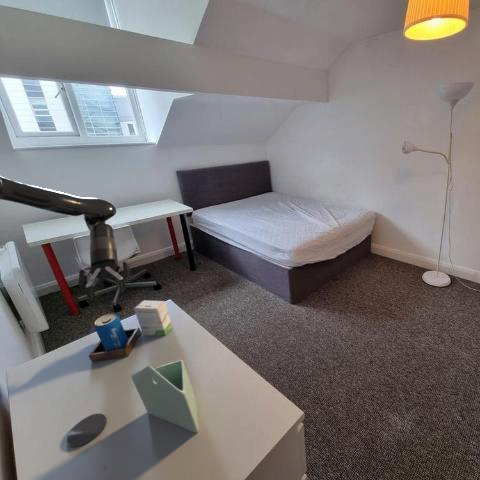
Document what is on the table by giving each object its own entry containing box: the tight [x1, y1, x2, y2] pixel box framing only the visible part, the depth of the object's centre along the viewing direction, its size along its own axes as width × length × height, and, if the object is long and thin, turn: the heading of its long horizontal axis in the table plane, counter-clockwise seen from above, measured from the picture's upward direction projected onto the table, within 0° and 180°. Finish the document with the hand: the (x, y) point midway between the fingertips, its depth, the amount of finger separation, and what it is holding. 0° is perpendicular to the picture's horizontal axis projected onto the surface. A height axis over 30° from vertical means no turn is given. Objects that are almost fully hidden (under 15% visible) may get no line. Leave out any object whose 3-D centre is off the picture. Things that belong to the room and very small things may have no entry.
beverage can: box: [93, 313, 129, 351], centre depth 89 cm, size 6×6×12 cm
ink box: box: [133, 299, 173, 337], centre depth 95 cm, size 9×5×12 cm, turn 86°
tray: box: [88, 326, 143, 363], centre depth 90 cm, size 11×11×3 cm
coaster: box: [66, 413, 108, 448], centre depth 66 cm, size 8×8×1 cm
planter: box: [131, 359, 200, 434], centre depth 67 cm, size 16×8×20 cm, turn 71°
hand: (107, 294), depth 91 cm, fingers open, 8 cm apart
